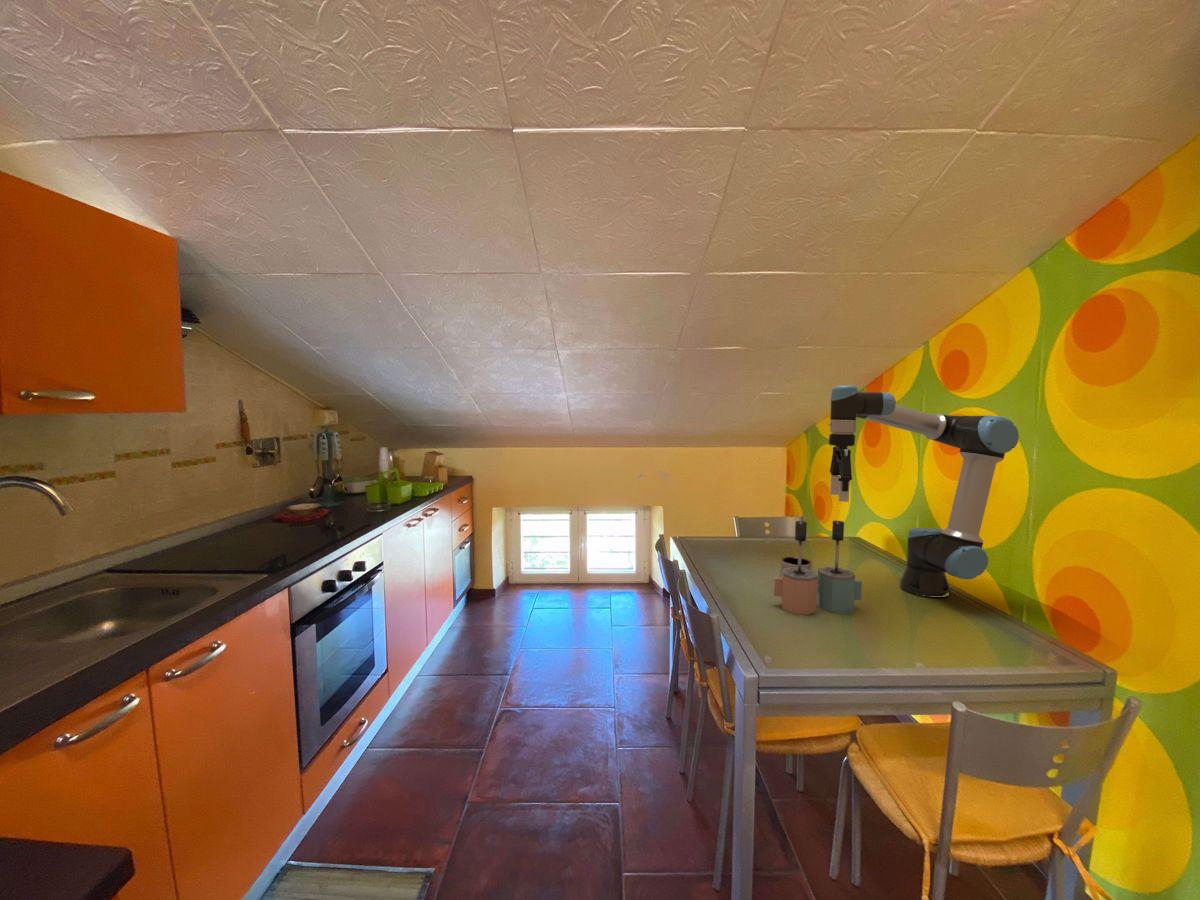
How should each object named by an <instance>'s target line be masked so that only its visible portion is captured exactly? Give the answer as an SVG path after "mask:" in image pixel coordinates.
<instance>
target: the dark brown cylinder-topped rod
mask: <svg viewBox="0 0 1200 900" xmlns="http://www.w3.org/2000/svg"><path fill="white" fill-rule="evenodd" d="M831 529H832V530H831V531H832V532H831V540H832V541H835V552H834V567H835V574H838V568H839V559H840V558H839V556H840V555H839V553H840V541H841V542H842V541H844V535H845V534H844V533H845V522H844V521H843V520H832V528H831Z"/></svg>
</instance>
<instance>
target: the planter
mask: <svg viewBox="0 0 1200 900" xmlns="http://www.w3.org/2000/svg"><path fill="white" fill-rule="evenodd" d="M812 563H813V562H812V561H811V560H809V559H808V558H805V557H804V558H803V557H802V558H801V568H805V569H808V570H811V571H813V569H812V567H813V564H812ZM789 567H794V568H798V556H785V557H782V558H781V559H780V574H779V578H782V569H785V568H789Z"/></svg>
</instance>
